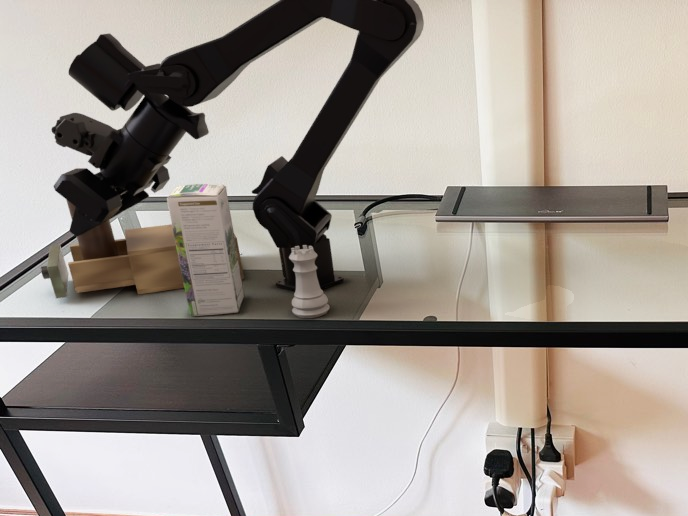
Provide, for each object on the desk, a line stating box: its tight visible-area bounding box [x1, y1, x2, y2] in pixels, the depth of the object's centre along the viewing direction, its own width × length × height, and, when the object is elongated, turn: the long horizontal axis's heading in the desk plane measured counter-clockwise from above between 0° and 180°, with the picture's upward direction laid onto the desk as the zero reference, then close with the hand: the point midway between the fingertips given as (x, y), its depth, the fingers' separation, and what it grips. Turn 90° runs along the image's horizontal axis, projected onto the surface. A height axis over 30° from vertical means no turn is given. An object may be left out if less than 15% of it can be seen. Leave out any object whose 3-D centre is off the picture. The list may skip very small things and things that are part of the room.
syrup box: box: [166, 183, 245, 317], centre depth 99 cm, size 6×6×14 cm
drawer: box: [40, 238, 136, 299], centre depth 108 cm, size 14×10×4 cm
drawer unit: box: [124, 223, 245, 295], centre depth 112 cm, size 13×11×6 cm
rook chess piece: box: [289, 245, 331, 319], centre depth 98 cm, size 4×4×8 cm
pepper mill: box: [65, 199, 119, 260], centre depth 106 cm, size 4×4×11 cm
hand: (82, 228), depth 106 cm, fingers closed on pepper mill, 4 cm apart
